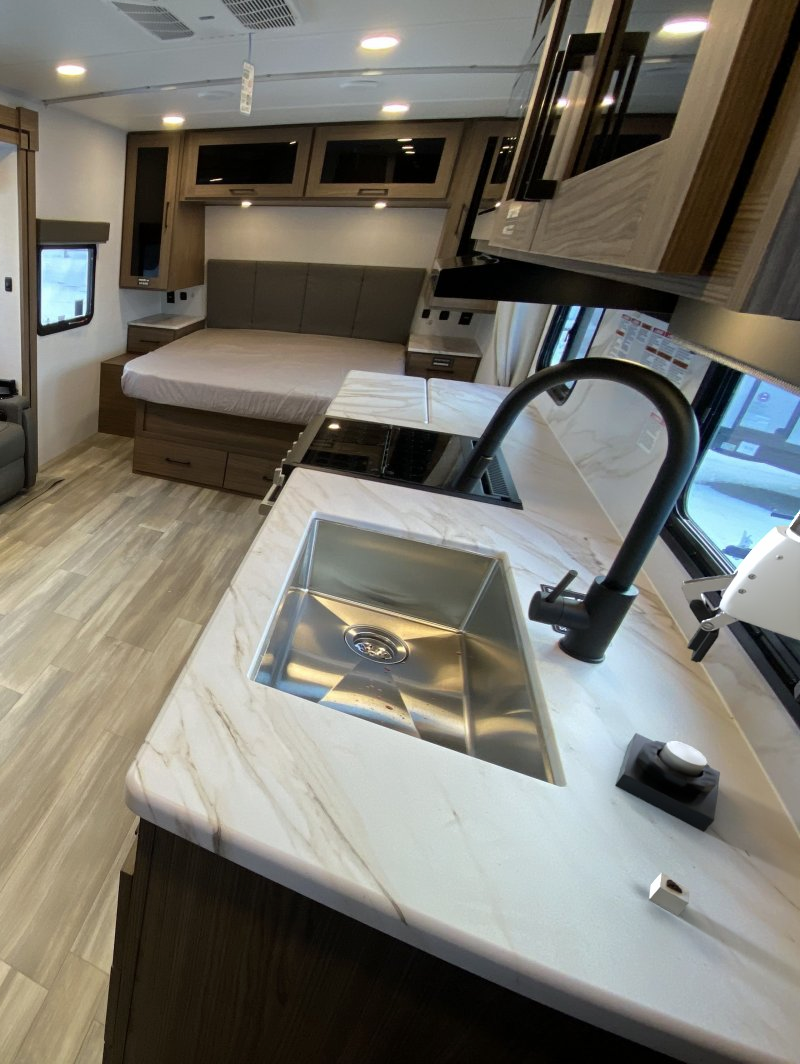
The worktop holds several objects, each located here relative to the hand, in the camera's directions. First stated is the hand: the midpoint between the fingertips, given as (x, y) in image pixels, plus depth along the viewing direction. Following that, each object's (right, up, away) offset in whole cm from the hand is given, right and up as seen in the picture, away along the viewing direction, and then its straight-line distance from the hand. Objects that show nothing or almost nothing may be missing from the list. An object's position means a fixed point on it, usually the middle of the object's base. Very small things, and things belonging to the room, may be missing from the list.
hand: (745, 674), depth 63 cm
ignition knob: (-1, -13, +6) cm, 14 cm away
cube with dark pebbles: (-14, -22, -4) cm, 26 cm away
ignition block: (-1, -16, +8) cm, 18 cm away
